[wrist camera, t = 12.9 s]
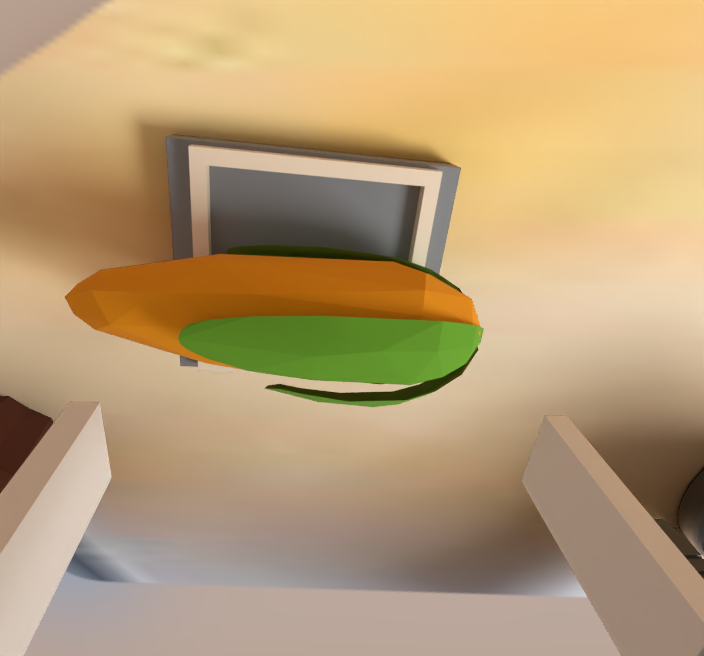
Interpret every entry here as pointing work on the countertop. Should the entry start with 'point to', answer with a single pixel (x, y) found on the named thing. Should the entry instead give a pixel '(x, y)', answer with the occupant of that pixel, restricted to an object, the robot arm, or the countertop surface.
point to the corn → (294, 317)
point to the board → (304, 202)
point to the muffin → (18, 436)
